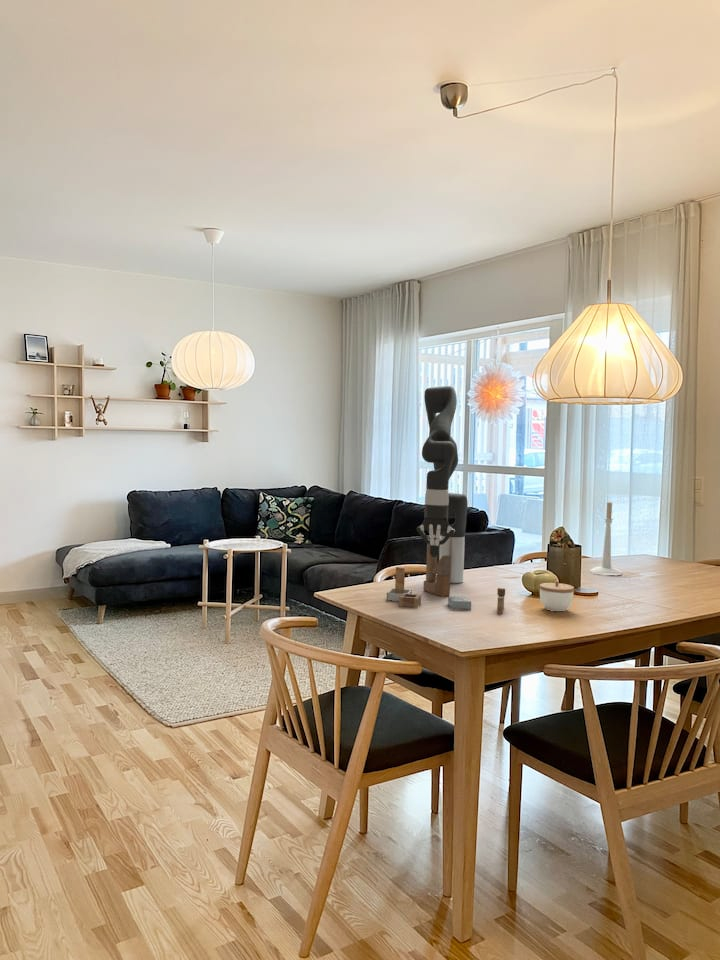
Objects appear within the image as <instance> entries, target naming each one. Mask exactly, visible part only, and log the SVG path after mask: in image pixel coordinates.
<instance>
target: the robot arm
mask: <svg viewBox="0 0 720 960" xmlns="http://www.w3.org/2000/svg"><path fill="white" fill-rule="evenodd" d="M423 395H424V397H423V399H424V404H425V405H424V407H425V412H426V416H427V423H428V427H429V432H428V437H427V438H426V439H425V442H424V443H423V445H422V449H421V456H422V458H423V460H424V461H425V462H427V463H430V464H433V469H434V470H433V469H432V470H429V471H427V474H426V488H425V493H424V494H425V496H424V517H423V518H424V519H423V521H422V524H420V525H419V526H417V527H416V528H415V530H416V532H417V533H418V535H419V536H420V538H421V539H422V541H423V542H424V543H425V544H427V543H428V544H429V545H430V555H432V557H437V558H438V557H439V558H438V559H439V560H440V559H441V558H442V556H446V555H451V575H450V584H460V583H463V582H464V569H465V568H464V565H465V545H466V544H465V543H466V542H465V540H466V538H465V537H466V527H467V515H468V497H467V496H466V494H464V493H454V492H449V483H450V482H449V481H450V479H451V477H452V475H453V474H454V472H455V470H456V469H457V466H458V464H459V454H458V452H459V451H458V445H457V443H456V441H455V439H454V438H453V436H451V434H452V424H453V421H454V417H455V414H456V409H457V406H458V405H457V403H458V402H457V393H456V389H455V387H453V386H452V385H443V386H434V387H427V388H425V391H424V394H423ZM449 518H451V519H454V522H453V523H451V524H450V523H449ZM425 530H426V532H427V533H428V534H429V535H428V536H429V537H428V536H427V534H426V533H425ZM435 540H436V542H435ZM439 560H438V561H439Z"/></svg>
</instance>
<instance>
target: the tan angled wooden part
mask: <svg viewBox="0 0 720 960" xmlns="http://www.w3.org/2000/svg"><path fill="white" fill-rule="evenodd" d="M435 542H436V539H435ZM426 544H427V545H426V565H425V566H426V567H425V569H426V571H425V580H423V588H422V589H423V592H426V591H427V592H426V593H429V592H430V594H432V593H433V594H432V595H435V594H436V595H435V596H438V595H439V597H441V596H445V597H450V596H451V593H450V591H451V583H450V575H451V555H446V556H442V558H441V559H440V560H438V556H437V557H432V555H430V545H429V544H428V543H426Z"/></svg>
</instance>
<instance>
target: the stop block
mask: <svg viewBox="0 0 720 960" xmlns="http://www.w3.org/2000/svg"><path fill="white" fill-rule="evenodd" d="M496 596H497V603H496V604H497V607H496V608H497V609H496V614H497V613H499V615H503V612H504V609H505V596H506V588H505V587H504V588H503V587H497V595H496Z"/></svg>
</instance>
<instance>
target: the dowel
mask: <svg viewBox="0 0 720 960" xmlns="http://www.w3.org/2000/svg"><path fill="white" fill-rule="evenodd" d="M405 571H406V567H404V566H396V567H395V583H394V589H395V593H397V594H403V593H404V589H405V579H406V578H405V574H406V572H405Z"/></svg>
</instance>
